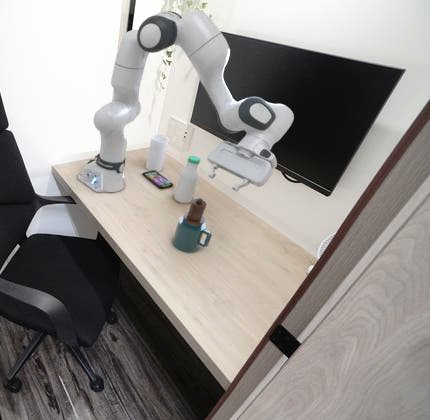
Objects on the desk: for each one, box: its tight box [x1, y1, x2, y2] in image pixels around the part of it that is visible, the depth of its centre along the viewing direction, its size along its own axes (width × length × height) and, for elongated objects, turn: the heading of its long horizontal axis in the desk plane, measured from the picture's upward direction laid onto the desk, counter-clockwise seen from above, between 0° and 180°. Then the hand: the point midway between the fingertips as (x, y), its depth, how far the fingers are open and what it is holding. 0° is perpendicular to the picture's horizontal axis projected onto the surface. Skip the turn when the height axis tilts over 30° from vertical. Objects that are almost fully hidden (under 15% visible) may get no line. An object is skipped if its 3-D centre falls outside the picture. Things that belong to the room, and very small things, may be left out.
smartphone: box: [142, 170, 174, 190], centre depth 154 cm, size 8×1×15 cm
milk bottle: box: [173, 155, 201, 204], centre depth 136 cm, size 8×8×20 cm
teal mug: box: [171, 215, 213, 254], centre depth 114 cm, size 12×9×12 cm
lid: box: [182, 197, 207, 225], centre depth 108 cm, size 7×7×9 cm
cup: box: [145, 134, 170, 172], centre depth 160 cm, size 8×8×16 cm
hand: (221, 183), depth 108 cm, fingers open, 8 cm apart
